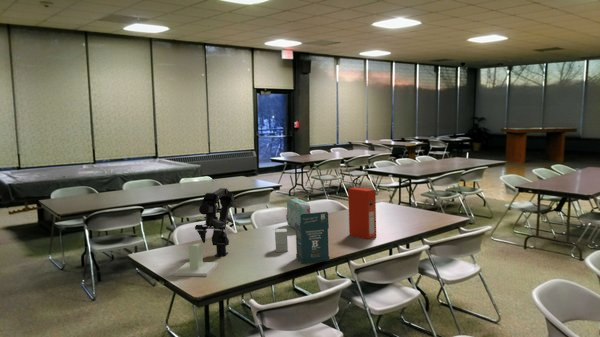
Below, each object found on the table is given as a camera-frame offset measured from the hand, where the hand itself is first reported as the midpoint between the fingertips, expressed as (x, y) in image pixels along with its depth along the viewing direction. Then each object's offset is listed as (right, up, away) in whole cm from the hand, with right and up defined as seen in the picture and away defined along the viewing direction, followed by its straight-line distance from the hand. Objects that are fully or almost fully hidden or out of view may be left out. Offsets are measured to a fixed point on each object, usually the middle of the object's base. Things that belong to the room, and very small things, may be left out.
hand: (210, 242), depth 253 cm
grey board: (-5, -13, -10) cm, 17 cm away
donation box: (+57, -10, +5) cm, 58 cm away
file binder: (+93, -4, +49) cm, 105 cm away
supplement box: (+39, -9, +22) cm, 46 cm away
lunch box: (+49, -2, +79) cm, 93 cm away
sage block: (-5, -12, -10) cm, 16 cm away
